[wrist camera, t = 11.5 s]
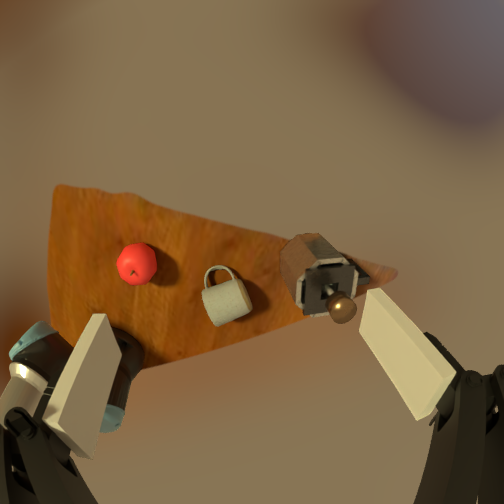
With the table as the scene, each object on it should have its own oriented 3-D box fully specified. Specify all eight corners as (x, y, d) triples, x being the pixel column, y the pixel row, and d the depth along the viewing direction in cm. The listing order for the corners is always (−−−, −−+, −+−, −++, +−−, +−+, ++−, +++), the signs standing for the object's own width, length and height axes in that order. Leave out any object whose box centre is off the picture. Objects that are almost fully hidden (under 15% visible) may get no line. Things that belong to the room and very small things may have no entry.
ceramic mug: (252, 298, 58) (257, 319, 51) (216, 312, 58) (217, 334, 51) (232, 256, 54) (234, 273, 47) (194, 271, 54) (191, 290, 47)
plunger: (290, 281, 55) (318, 336, 39) (291, 246, 52) (323, 293, 36) (325, 277, 56) (362, 328, 40) (328, 243, 53) (371, 286, 37)
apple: (115, 249, 50) (101, 266, 42) (146, 230, 49) (135, 245, 42) (137, 280, 53) (127, 301, 46) (168, 263, 52) (161, 283, 45)
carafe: (279, 285, 57) (295, 322, 45) (279, 235, 53) (298, 263, 41) (341, 278, 59) (368, 310, 47) (346, 230, 54) (378, 255, 42)
